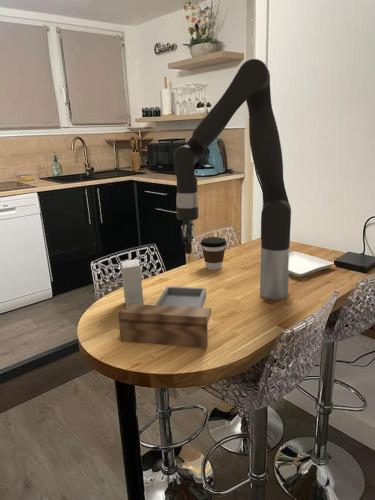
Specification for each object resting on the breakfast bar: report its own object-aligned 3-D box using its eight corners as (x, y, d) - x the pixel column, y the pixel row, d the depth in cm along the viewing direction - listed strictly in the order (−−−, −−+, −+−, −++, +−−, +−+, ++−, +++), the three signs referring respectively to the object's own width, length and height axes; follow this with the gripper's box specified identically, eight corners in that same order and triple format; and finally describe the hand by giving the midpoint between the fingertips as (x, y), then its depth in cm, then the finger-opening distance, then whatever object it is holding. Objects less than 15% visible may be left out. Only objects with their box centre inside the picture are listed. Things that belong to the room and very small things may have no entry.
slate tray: (206, 296, 133) (206, 288, 133) (197, 319, 117) (197, 310, 116) (167, 294, 136) (166, 286, 135) (153, 317, 119) (152, 308, 118)
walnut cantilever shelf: (211, 330, 110) (211, 301, 107) (207, 348, 101) (206, 317, 98) (131, 325, 114) (129, 297, 112) (120, 341, 106) (117, 312, 103)
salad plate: (334, 269, 156) (335, 261, 155) (299, 281, 144) (300, 273, 143) (293, 257, 172) (294, 250, 171) (259, 267, 161) (259, 259, 160)
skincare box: (144, 309, 125) (141, 266, 121) (125, 311, 124) (122, 268, 120) (141, 298, 133) (138, 258, 129) (124, 301, 132) (120, 260, 127)
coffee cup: (213, 273, 154) (213, 245, 151) (195, 267, 162) (194, 240, 159) (232, 267, 161) (232, 239, 158) (213, 261, 169) (213, 235, 166)
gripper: (194, 209, 125) (195, 259, 130) (201, 202, 137) (201, 248, 142) (172, 208, 126) (174, 258, 131) (180, 201, 139) (181, 247, 144)
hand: (188, 253), depth 137 cm, fingers closed
